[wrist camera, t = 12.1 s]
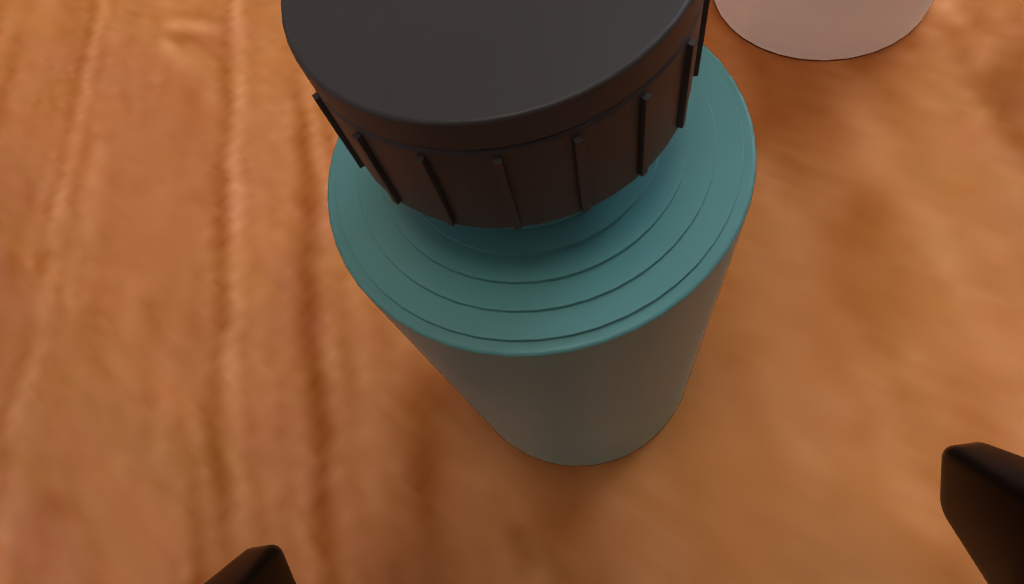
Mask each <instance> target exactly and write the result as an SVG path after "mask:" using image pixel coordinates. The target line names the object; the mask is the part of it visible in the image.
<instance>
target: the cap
mask: <svg viewBox="0 0 1024 584" xmlns="http://www.w3.org/2000/svg"><path fill="white" fill-rule="evenodd" d="M709 3H710V0H281V11H282V23H283V28H284V31H285V35H286V39H287V42H288V45H289V47H290V49H291V51H292V53H293V55H294V57H295V59H296V61H297V62H298V64H299V66H300V67H301V69H302V70H303V72H304V73H305V75H306V76H307V78H308V79H309V81H310V82H311V84H312V85H313V87H314V88H315V90H316V93H315V94H313V95H312V96H313V98H314V100H315V101H316V103H317V104H318V106H319V107H320V109H321V110H322V112H323V113H324V115H325V116H326V118H327V119H328V121H329V122H330V124H331V125H332V127H333V128H334V130H335V131H336V133H337V134H338V136H339V137H340V139H341V140H342V142H343V143H344V145H345V146H346V148H347V149H348V151H349V152H350V154H351V155H352V157H353V158H354V160H355V161H356V163H357V164H358V166H359V167H360V168H362V167H364V166H365V167H366V169H367V170H368V171H369V173H370V174H371V175H372V177H373V178H374V179H375V181H376V182H377V183H378V184H380V185H381V186H382V187H383V188H384V189H385V190H386V191H387V193H388V194H389V196H390V197H391V199H392V201H393V202H394V203H396V204H397V205H398V204H399V203H400V202H402V203H403V204H405V205H406V206H408V207H410V208H412V209H414V210H416V211H418V212H420V213H422V214H424V215H427V216H430V217H433V218H436V219H439V220H442V221H445V222H446V223H447V225H449V226H453V227H454V226H455V224H458V225H463V226H468V227H478V228H492V229H497V228H514V229H515V230H516V229H522V227H525V226H531V225H537V224H543V223H547V222H551V221H554V220H558V219H561V218H565V217H568V216H571V215H573V214H576V213H578V212H581V211H582V212H583V213H584V212H586V211H589V210H590V207H593V206H594V205H596V204H598V203H600V202H602V201H604V200H605V199H607V198H609V197H611V196H613V195H614V194H616V193H617V192H619V191H620V190H621V189H623V188H624V187H626V186H627V185H628V184H630V183H631V182H633V181H634V180H635V179H636V178H637V177H638V176H639V175H640V176H642V177H643V176H644V175H645V174H646V173H647V172H648V167H649V166H650V165H651V164H652V163H653V162H654V161H655V160H656V158H657V157H658V156H659V155H660V154H661V152H662V151H663V150H664V149H665V148H666V146H667V145H668V143H669V142H670V140H671V138H672V137H673V135H674V134H675V132H676V130H677V129H678V128H683V127H684V125H685V121H686V114H687V107H688V100H689V96H690V92H691V87H692V80H693V76H698V74H699V68H700V61H701V55H702V48H703V42H704V35H705V29H706V22H707V16H708V9H709Z"/></svg>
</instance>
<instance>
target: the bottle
mask: <svg viewBox="0 0 1024 584" xmlns="http://www.w3.org/2000/svg"><path fill="white" fill-rule="evenodd" d="M756 157H757V149H756V142H755V135H754V129H753V124H752V121H751V118H750V115H749V112H748V109H747V105H746V103H745V100H744V98H743V96H742V94H741V93H740V91H739V89H738V87H737V85H736V83H735V81H734V79H733V78H732V77H731V75H730V74H729V73H728V71H727V70H726V68H725V67H724V66H723V64H722V63H721V62H720V61H719V60H718V59H717V57H716V56H715V55H714V54H713V53H712V52H711V51H710V50H709V49H708V48H707V47H706V46H705V45H704V44H703V48H702V55H701V61H700V68H699V74H698V76H693V80H692V87H691V92H690V96H689V100H688V107H687V114H686V121H685V125H684V127H683V128H678V129H677V130H676V132H675V134H674V135H673V137H672V138H671V140H670V142H669V143H668V145H667V146H666V148H665V149H664V150H663V151H662V152H661V154H660V155H659V156H658V157H657V158H656V160H655V161H654V162H653V163H652V164H651V165H650V166H649V167H648V172H647V173H646V174H645V175H644V176H643V177H642V176H640V175H639V176H638V177H637V178H636V179H635V180H634V181H633V182H631V183H630V184H628V185H627V186H626V187H624V188H623V189H621V190H620V191H619V192H617V193H616V194H614V195H613V196H611V197H609V198H607V199H605V200H604V201H602V202H600V203H598V204H596V205H594V206H593V207H590V210H589V211H586V212H584V213H583V212H582V211H581V212H578V213H576V214H573V215H571V216H568V217H565V218H561V219H558V220H554V221H551V222H547V223H543V224H537V225H531V226H525V227H522V229H516V230H515V229H514V228H497V229H492V228H478V227H468V226H463V225H458V224H455V226H454V227H453V226H449V225H447V223H446V222H445V221H442V220H439V219H436V218H433V217H430V216H427V215H424V214H422V213H420V212H418V211H416V210H414V209H412V208H410V207H408V206H406V205H405V204H403V203H402V202H400V203H399V204H398V205H397V204H396V203H394V202H393V201H392V199H391V197H390V196H389V194H388V193H387V191H386V190H385V189H384V188H383V187H382V186H381V185H380V184H378V183H377V182H376V181H375V179H374V178H373V177H372V175H371V174H370V173H369V171H368V170H367V169H366V167H365V166H364V167H362V168H360V167H359V166H358V164H357V163H356V161H355V160H354V158H353V157H352V155H351V154H350V152H349V151H348V149H347V148H346V146H345V145H344V143H343V142H342V140H341V139H340V137H338V140H337V143H336V146H335V149H334V152H333V156H332V161H331V166H330V171H329V178H328V208H329V217H330V224H331V228H332V232H333V235H334V239H335V243H336V246H337V248H338V250H339V253H340V255H341V257H342V259H343V261H344V264H345V266H346V268H347V269H348V271H349V272H350V274H351V275H352V277H353V278H354V280H355V281H356V283H357V284H358V286H359V287H360V288H361V289H362V290H363V291H364V293H365V294H366V295H367V296H368V297H369V298H370V299H371V300H372V301H373V302H374V303H375V305H376V306H377V307H378V308H379V309H380V310H381V311H382V312H383V313H384V314H385V315H386V316H387V317H388V318H389V319H390V320H391V321H392V322H393V324H394V325H395V326H396V327H397V328H398V329H399V330H400V331H401V332H402V333H403V334H404V335H405V336H406V337H407V338H408V339H409V340H410V341H411V342H412V343H413V345H414V346H415V347H416V348H417V349H418V350H419V351H420V352H421V353H422V354H423V355H424V356H425V357H426V358H427V359H428V360H429V361H430V362H431V363H432V364H433V366H434V367H435V368H436V369H437V370H438V371H439V372H440V373H441V374H442V375H443V376H444V377H445V378H446V379H447V380H448V381H449V382H450V383H451V384H452V385H453V387H454V388H455V389H456V390H457V391H458V392H459V393H460V394H461V395H462V396H463V397H464V398H465V399H466V400H467V401H468V402H469V403H470V404H471V405H472V406H473V408H474V409H475V410H476V411H477V412H478V413H479V414H480V415H481V416H482V417H483V418H484V419H485V420H486V421H487V422H488V423H489V424H490V425H491V426H492V427H493V429H494V430H495V431H496V432H497V433H498V434H499V435H500V436H501V437H502V438H504V439H505V440H506V441H507V442H509V443H510V444H511V445H512V446H514V447H516V448H517V449H519V450H520V451H522V452H524V453H526V454H528V455H530V456H532V457H535V458H537V459H540V460H543V461H546V462H550V463H554V464H560V465H567V466H587V465H596V464H601V463H605V462H609V461H613V460H616V459H618V458H621V457H623V456H626V455H628V454H630V453H632V452H633V451H635V450H637V449H638V448H640V447H642V446H643V445H644V444H646V443H647V442H648V441H650V440H651V439H652V438H653V437H655V436H656V434H657V433H658V432H659V431H660V430H661V429H662V428H663V427H664V426H665V425H666V423H667V422H668V421H669V419H670V418H671V417H672V415H673V414H674V412H675V410H676V408H677V406H678V404H679V403H680V401H681V398H682V395H683V392H684V389H685V387H686V384H687V381H688V378H689V375H690V373H691V370H692V367H693V364H694V361H695V358H696V356H697V353H698V350H699V347H700V344H701V341H702V339H703V336H704V333H705V330H706V327H707V324H708V322H709V319H710V316H711V313H712V310H713V307H714V305H715V302H716V299H717V296H718V293H719V291H720V288H721V285H722V282H723V279H724V276H725V274H726V271H727V268H728V265H729V262H730V259H731V257H732V254H733V251H734V248H735V245H736V242H737V240H738V237H739V234H740V231H741V228H742V225H743V223H744V220H745V217H746V214H747V211H748V209H749V206H750V203H751V200H752V194H753V189H754V184H755V178H756Z"/></svg>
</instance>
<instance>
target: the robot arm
mask: <svg viewBox="0 0 1024 584" xmlns="http://www.w3.org/2000/svg"><path fill="white" fill-rule="evenodd" d="M940 501H941V506H942V509H943V512H944V514H945V517H946V518H947V520H948V522H949V523H950V525H951V526H952V528H953V530H954V531H955V533H956V534H957V536H958V537H959V539H960V541H961V542H962V544H963V545H964V547H965V548H966V550H967V552H968V553H969V555H970V556H971V558H972V559H973V561H974V562H975V564H976V566H977V567H978V569H979V570H980V572H981V573H982V575H983V577H984V578H985V580H986V581H987V583H988V584H1024V457H1021V456H1018V455H1016V454H1013V453H1010V452H1007V451H1005V450H1002V449H999V448H996V447H994V446H991V445H988V444H985V443H981V442H974V443H967V444H960V445H953V446H949V447H947V448H946V449H945V450H944V452H943V454H942V463H941V489H940ZM204 584H296V582H295V580H294V578H293V575H292V573H291V570H290V568H289V566H288V563H287V561H286V558H285V556H284V554H283V552H282V550H281V549H280V548H279V547H278V546H277V545H266V546H259V547H253V548H249V549H247V550H245V551H244V552H243V553H242V554H240V555H239V556H238V557H237V558H235V559H234V560H233V561H232V562H230V563H229V564H228V565H227V566H225V567H224V568H223V569H222V570H221V571H219V572H218V573H217V574H216V575H214V576H213V577H212V578H211V579H209V580H208V581H207V582H206V583H204Z"/></svg>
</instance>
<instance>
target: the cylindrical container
mask: <svg viewBox="0 0 1024 584" xmlns="http://www.w3.org/2000/svg"><path fill="white" fill-rule="evenodd" d="M714 1H715V4H716V6H717V8H718V10H719V13H720V15H721V16H722V17H723V19H724V20H725V21H726V22H727V24H728V25H729V26H730V27H731V28H732V29H733V30H734V31H735V32H737V33H738V34H739V35H740V36H741V37H743V38H744V39H746V40H748V41H749V42H751V43H753V44H755V45H756V46H758V47H760V48H763V49H766V50H768V51H771V52H774V53H776V54H780V55H784V56H789V57H794V58H799V59H810V60H835V59H846V58H852V57H857V56H861V55H865V54H869V53H873V52H875V51H877V50H880V49H882V48H885V47H887V46H889V45H892V44H893V43H895V42H896V41H898V40H899V39H901V38H903V37H904V36H906V35H907V34H908V33H909V32H911V31H912V30H913V29H914V28H915V27H916V26H917V25H918V24H919V23H920V22H921V20H922V19H923V17H924V16H925V14H926V13H927V11H928V9H929V8H930V6H931V4H932V2H933V1H934V0H714Z"/></svg>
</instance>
